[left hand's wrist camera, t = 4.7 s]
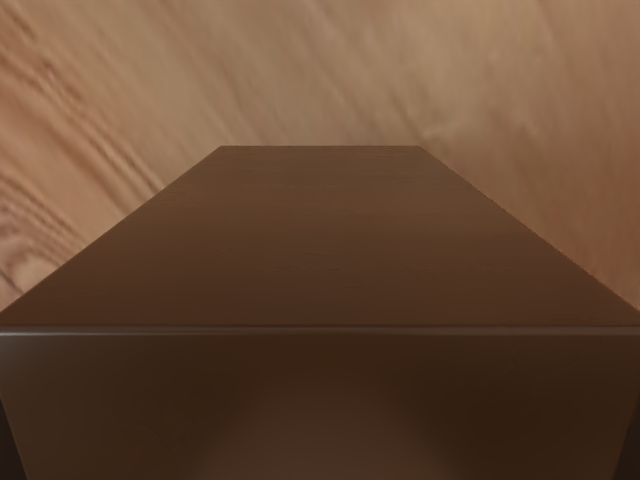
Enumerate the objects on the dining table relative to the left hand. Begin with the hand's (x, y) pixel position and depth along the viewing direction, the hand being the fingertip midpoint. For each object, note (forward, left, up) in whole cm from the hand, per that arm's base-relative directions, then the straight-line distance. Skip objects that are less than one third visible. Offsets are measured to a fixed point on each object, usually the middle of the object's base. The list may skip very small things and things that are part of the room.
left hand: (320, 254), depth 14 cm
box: (+7, +7, -1) cm, 10 cm away
